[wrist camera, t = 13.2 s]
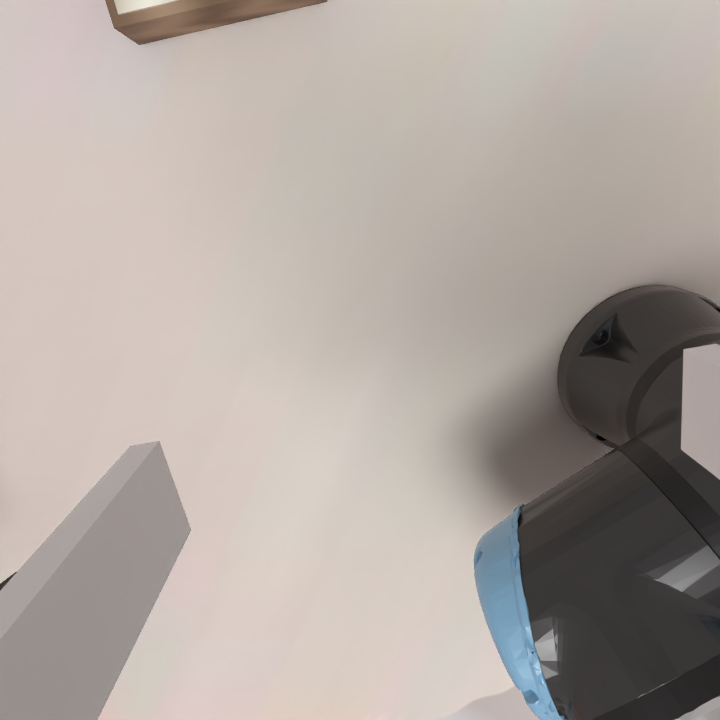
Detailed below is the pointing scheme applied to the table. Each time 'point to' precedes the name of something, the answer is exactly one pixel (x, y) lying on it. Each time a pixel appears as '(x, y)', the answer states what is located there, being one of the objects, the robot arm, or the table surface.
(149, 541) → the robot arm
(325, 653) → the table surface
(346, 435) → the table surface
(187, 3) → the pedestal
